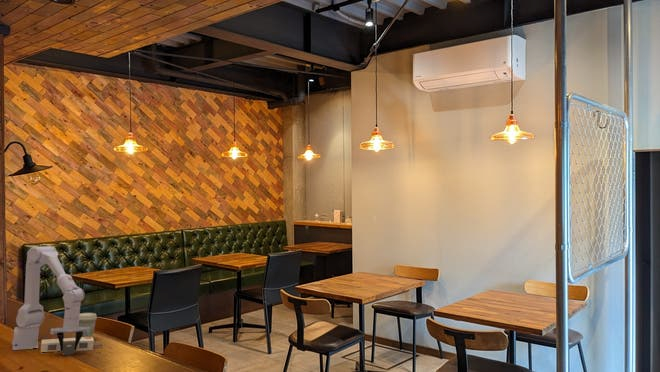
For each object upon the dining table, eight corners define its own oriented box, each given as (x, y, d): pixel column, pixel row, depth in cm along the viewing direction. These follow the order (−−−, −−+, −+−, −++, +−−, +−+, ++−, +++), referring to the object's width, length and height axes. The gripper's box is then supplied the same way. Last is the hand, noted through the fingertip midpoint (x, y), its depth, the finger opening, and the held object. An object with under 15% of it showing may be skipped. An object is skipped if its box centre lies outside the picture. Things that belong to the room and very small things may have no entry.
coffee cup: (86, 343, 227) (89, 316, 228) (70, 341, 228) (73, 314, 229) (98, 339, 235) (101, 313, 236) (83, 337, 237) (85, 311, 238)
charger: (62, 355, 205) (63, 343, 206) (61, 352, 210) (62, 340, 210) (73, 355, 207) (75, 343, 208) (73, 351, 212) (74, 339, 212)
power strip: (40, 353, 207) (41, 342, 207) (40, 349, 213) (41, 338, 213) (103, 349, 219) (104, 338, 219) (101, 345, 225) (102, 335, 225)
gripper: (52, 320, 202) (48, 354, 201) (91, 318, 209) (88, 351, 208) (51, 316, 208) (48, 349, 207) (89, 315, 215) (86, 347, 214)
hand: (68, 350), depth 208 cm, fingers closed on charger, 4 cm apart
